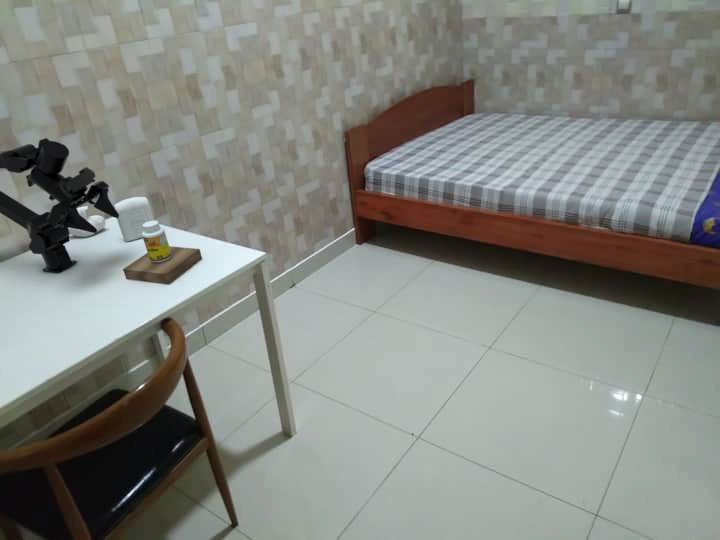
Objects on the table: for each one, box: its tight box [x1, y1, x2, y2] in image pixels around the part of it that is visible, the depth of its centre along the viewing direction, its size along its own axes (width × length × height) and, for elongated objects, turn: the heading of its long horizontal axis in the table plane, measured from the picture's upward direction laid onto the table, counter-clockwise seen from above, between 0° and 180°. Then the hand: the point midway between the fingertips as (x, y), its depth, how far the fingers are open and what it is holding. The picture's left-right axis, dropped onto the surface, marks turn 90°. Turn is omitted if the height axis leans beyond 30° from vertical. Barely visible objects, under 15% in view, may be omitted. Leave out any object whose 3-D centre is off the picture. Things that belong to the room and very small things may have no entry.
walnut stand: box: [122, 245, 203, 285], centre depth 137 cm, size 14×14×3 cm
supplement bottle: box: [142, 220, 171, 263], centre depth 134 cm, size 6×6×10 cm
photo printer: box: [113, 196, 156, 242], centre depth 156 cm, size 10×4×12 cm, turn 123°
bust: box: [68, 205, 106, 238], centre depth 162 cm, size 12×8×11 cm
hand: (107, 224), depth 133 cm, fingers open, 9 cm apart
